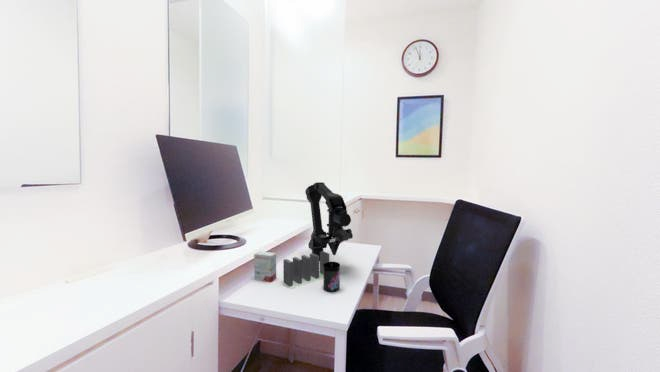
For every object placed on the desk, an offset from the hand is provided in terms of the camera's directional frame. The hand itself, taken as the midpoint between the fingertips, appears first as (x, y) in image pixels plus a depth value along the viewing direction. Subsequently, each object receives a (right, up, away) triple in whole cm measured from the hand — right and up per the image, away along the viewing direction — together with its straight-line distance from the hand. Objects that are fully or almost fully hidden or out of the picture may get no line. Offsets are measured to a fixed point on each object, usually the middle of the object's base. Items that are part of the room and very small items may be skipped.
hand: (334, 254), depth 135 cm
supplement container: (-1, -10, -19) cm, 21 cm away
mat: (-11, -9, -8) cm, 16 cm away
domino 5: (-5, -8, -3) cm, 10 cm away
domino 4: (-9, -8, -7) cm, 14 cm away
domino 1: (-20, -9, -15) cm, 26 cm away
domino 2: (-16, -9, -12) cm, 22 cm away
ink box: (-30, -9, -10) cm, 33 cm away
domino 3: (-13, -8, -9) cm, 18 cm away
